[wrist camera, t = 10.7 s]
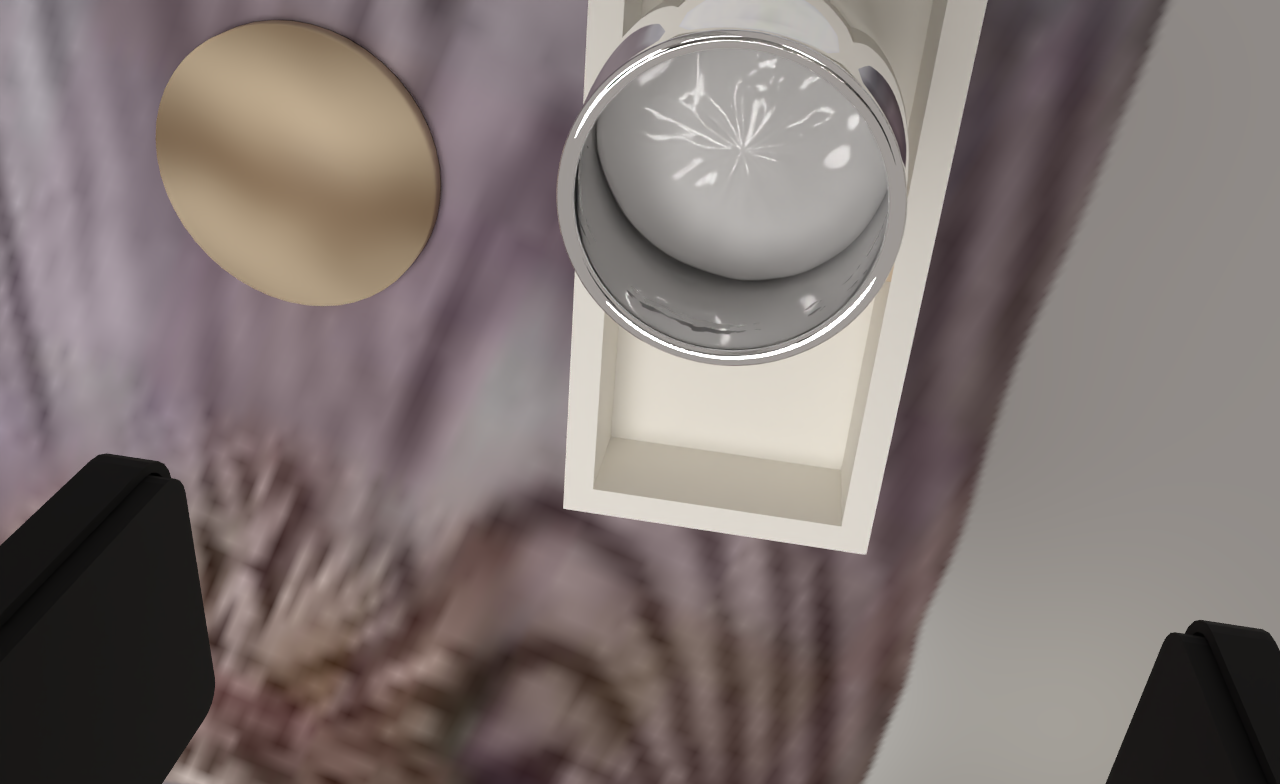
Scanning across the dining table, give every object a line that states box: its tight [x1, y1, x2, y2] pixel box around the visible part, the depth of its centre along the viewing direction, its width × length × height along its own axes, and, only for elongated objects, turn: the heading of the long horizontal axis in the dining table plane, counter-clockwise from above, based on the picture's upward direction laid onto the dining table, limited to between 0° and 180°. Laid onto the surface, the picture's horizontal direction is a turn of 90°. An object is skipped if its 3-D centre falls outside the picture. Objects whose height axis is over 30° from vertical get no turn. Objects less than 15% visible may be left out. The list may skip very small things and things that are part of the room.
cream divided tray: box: [563, 0, 988, 555], centre depth 35 cm, size 21×10×5 cm, turn 176°
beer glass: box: [557, 0, 909, 366], centre depth 27 cm, size 7×7×15 cm
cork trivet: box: [156, 20, 441, 306], centre depth 39 cm, size 10×10×1 cm
